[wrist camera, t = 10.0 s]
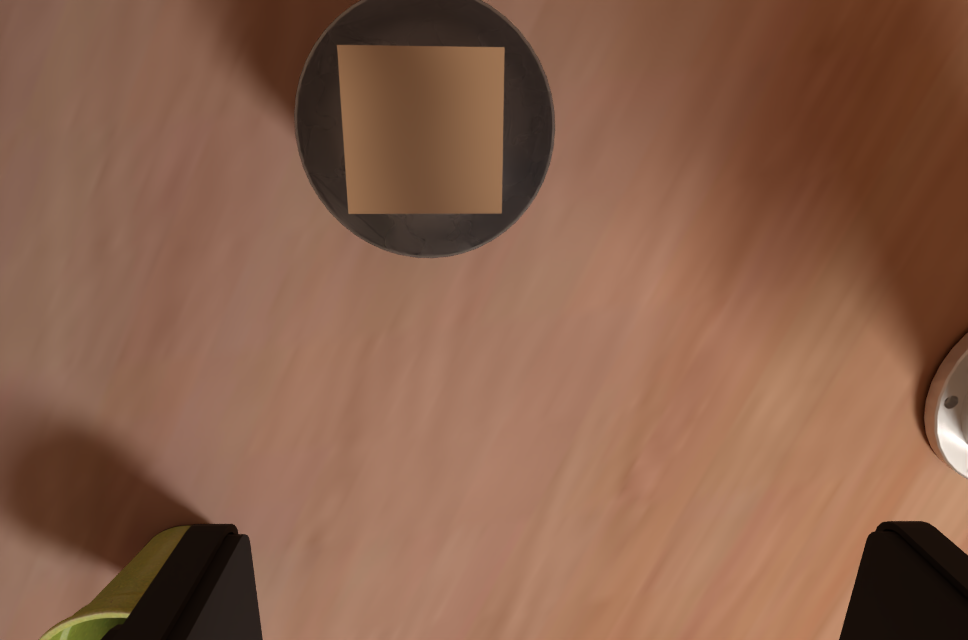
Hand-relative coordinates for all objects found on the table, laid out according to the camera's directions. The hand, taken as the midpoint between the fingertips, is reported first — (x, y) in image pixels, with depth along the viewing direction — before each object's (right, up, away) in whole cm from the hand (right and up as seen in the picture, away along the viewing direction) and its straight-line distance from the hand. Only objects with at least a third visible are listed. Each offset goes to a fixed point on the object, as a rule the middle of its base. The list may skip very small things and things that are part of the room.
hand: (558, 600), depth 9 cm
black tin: (-4, +14, +21) cm, 25 cm away
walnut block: (-3, +12, +14) cm, 19 cm away
